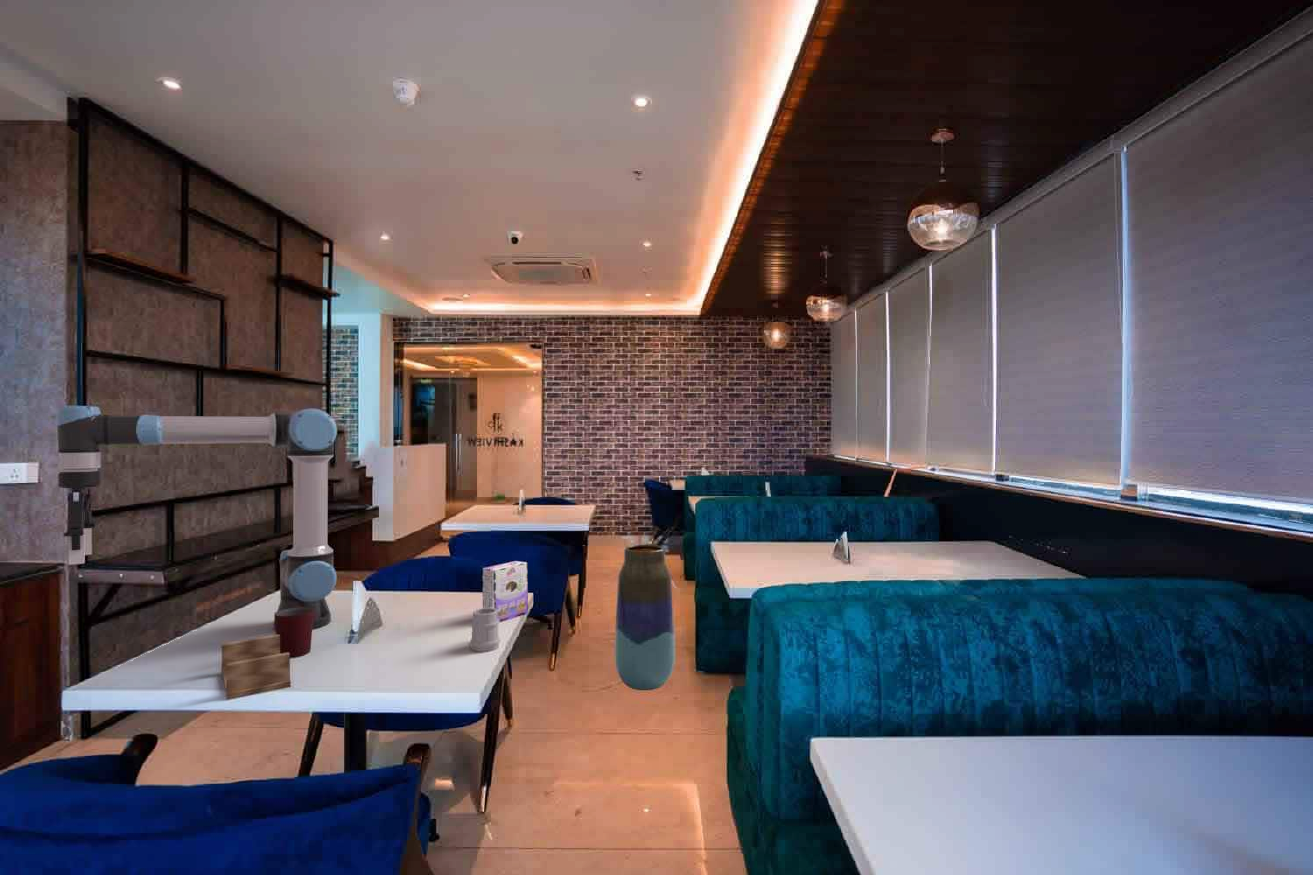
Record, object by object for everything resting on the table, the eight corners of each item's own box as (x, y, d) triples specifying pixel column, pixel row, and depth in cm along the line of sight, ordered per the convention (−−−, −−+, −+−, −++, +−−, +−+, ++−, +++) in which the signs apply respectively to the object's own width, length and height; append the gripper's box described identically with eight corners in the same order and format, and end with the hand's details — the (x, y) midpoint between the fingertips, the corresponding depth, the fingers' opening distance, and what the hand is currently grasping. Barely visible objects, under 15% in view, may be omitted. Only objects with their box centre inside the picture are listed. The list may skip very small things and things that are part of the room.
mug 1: (293, 643, 175) (292, 603, 175) (325, 643, 175) (325, 603, 175) (267, 659, 163) (267, 616, 163) (302, 659, 163) (302, 616, 163)
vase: (602, 683, 147) (601, 547, 147) (647, 668, 157) (646, 540, 156) (642, 701, 137) (641, 556, 137) (687, 684, 146) (687, 548, 146)
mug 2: (466, 652, 168) (466, 606, 168) (480, 637, 180) (480, 595, 180) (494, 652, 168) (494, 607, 168) (507, 638, 180) (507, 595, 180)
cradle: (278, 661, 162) (278, 633, 162) (290, 686, 146) (290, 655, 146) (221, 672, 154) (221, 642, 154) (227, 699, 138) (227, 666, 138)
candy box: (516, 610, 208) (515, 560, 208) (528, 613, 205) (528, 562, 204) (481, 620, 197) (481, 567, 197) (494, 623, 193) (494, 569, 193)
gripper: (66, 468, 160) (67, 553, 161) (49, 473, 140) (50, 570, 140) (105, 467, 165) (106, 549, 165) (94, 472, 145) (95, 565, 145)
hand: (80, 559), depth 153 cm, fingers open, 13 cm apart
